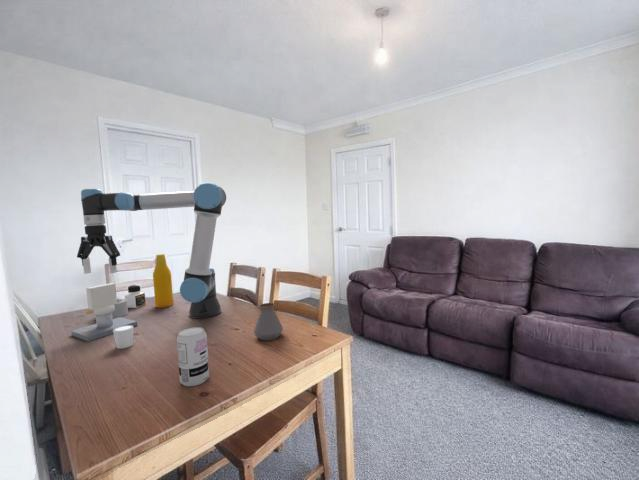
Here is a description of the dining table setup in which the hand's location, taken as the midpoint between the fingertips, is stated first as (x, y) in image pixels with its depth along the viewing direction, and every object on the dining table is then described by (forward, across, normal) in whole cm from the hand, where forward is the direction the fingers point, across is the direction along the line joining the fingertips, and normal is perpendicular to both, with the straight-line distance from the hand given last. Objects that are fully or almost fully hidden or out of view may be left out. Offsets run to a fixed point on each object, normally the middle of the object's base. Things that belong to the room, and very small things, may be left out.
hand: (100, 273), depth 139 cm
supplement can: (+27, +66, -34) cm, 79 cm away
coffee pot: (+27, +72, +3) cm, 77 cm away
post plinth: (+26, 0, 0) cm, 26 cm away
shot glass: (+26, +23, -14) cm, 37 cm away
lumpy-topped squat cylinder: (+26, -15, +19) cm, 36 cm away
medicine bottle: (+26, -17, +36) cm, 47 cm away
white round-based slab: (+18, -1, -1) cm, 18 cm away
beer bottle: (+26, 0, +38) cm, 46 cm away
